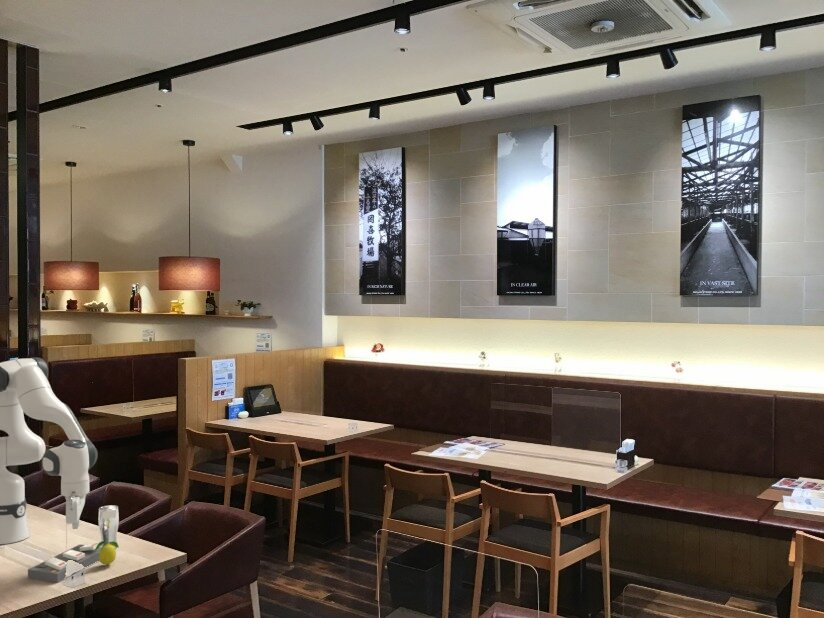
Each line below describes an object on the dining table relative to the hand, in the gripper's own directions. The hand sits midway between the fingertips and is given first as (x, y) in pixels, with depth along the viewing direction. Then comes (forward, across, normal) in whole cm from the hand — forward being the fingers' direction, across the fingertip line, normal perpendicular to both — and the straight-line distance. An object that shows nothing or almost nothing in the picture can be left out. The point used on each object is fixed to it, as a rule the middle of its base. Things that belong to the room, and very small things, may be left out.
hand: (75, 527), depth 253 cm
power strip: (+14, +2, +2) cm, 14 cm away
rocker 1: (+10, -6, +5) cm, 13 cm away
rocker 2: (+10, 0, +1) cm, 10 cm away
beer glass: (+15, +17, -9) cm, 24 cm away
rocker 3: (+10, +7, -4) cm, 13 cm away
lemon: (+14, -1, -10) cm, 17 cm away
